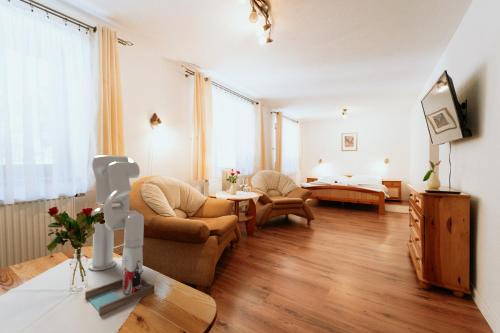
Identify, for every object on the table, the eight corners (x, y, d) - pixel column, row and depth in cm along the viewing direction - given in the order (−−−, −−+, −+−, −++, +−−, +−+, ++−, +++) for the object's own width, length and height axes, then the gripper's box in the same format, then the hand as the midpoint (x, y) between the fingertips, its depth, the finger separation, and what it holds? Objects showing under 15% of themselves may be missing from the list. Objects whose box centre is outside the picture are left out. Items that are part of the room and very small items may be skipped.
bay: (85, 298, 94) (85, 291, 94) (136, 279, 110) (136, 273, 110) (100, 315, 84) (100, 307, 84) (154, 292, 101) (154, 285, 101)
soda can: (133, 296, 97) (134, 268, 97) (118, 294, 98) (119, 266, 98) (143, 288, 104) (145, 261, 103) (130, 285, 105) (131, 259, 105)
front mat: (87, 299, 93) (87, 298, 93) (111, 290, 100) (111, 290, 100) (100, 313, 85) (100, 312, 85) (125, 302, 92) (125, 301, 92)
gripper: (116, 239, 103) (114, 279, 103) (134, 249, 92) (132, 293, 92) (133, 236, 109) (131, 273, 109) (152, 245, 98) (150, 286, 98)
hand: (132, 282), depth 101 cm, fingers closed on soda can, 6 cm apart
